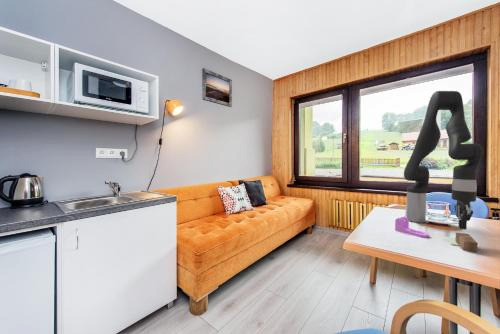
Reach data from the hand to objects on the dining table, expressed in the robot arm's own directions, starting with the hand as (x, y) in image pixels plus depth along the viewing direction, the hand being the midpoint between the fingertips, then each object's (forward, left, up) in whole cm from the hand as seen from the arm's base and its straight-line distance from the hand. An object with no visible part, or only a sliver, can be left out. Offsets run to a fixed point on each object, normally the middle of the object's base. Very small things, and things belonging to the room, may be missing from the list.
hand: (462, 228), depth 91 cm
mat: (0, +1, -7) cm, 7 cm away
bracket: (-17, +5, -7) cm, 19 cm away
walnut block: (0, 0, -4) cm, 4 cm away
